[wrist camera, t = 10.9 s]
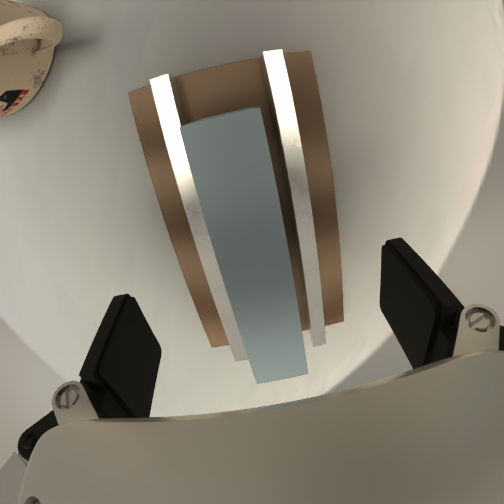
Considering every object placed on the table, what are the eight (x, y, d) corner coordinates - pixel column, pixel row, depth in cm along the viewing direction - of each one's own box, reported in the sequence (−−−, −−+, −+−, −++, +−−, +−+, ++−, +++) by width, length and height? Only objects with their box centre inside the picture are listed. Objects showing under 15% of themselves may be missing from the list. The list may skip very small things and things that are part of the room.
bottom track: (132, 93, 16) (116, 91, 14) (307, 53, 16) (318, 45, 13) (212, 341, 25) (210, 365, 23) (341, 315, 25) (350, 337, 22)
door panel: (200, 119, 16) (179, 127, 10) (250, 107, 16) (260, 107, 10) (251, 311, 23) (257, 383, 17) (290, 303, 23) (308, 373, 16)
